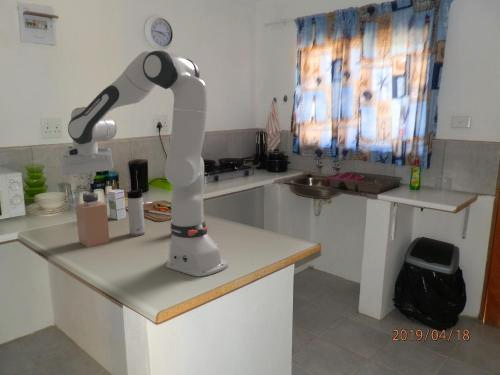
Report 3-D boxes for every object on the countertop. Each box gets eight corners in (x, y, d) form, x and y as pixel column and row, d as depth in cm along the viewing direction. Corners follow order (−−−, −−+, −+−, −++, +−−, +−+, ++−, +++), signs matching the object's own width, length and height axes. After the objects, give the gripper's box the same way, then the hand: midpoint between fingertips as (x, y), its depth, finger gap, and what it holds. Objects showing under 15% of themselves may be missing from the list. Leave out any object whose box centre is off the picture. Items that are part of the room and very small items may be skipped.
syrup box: (126, 217, 197) (124, 189, 194) (117, 220, 192) (114, 191, 189) (119, 216, 200) (117, 188, 197) (109, 218, 195) (107, 190, 192)
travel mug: (141, 236, 166) (138, 191, 162) (127, 235, 167) (124, 190, 163) (148, 232, 172) (145, 188, 168) (134, 231, 173) (131, 187, 169)
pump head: (102, 223, 158) (99, 194, 155) (88, 226, 154) (85, 197, 152) (93, 219, 164) (90, 191, 162) (79, 222, 160) (77, 193, 158)
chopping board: (206, 214, 203) (206, 209, 203) (161, 224, 185) (161, 218, 184) (161, 201, 235) (160, 196, 235) (119, 209, 217) (119, 203, 216)
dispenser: (109, 242, 159) (106, 200, 156) (87, 247, 153) (83, 204, 150) (100, 237, 165) (97, 197, 162) (79, 242, 159) (75, 200, 156)
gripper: (107, 147, 161) (110, 179, 164) (56, 151, 147) (60, 186, 150) (114, 147, 157) (117, 181, 159) (61, 151, 143) (65, 188, 145)
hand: (89, 183), depth 154 cm, fingers closed
